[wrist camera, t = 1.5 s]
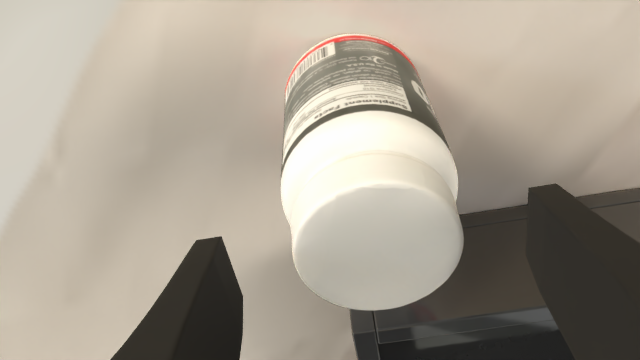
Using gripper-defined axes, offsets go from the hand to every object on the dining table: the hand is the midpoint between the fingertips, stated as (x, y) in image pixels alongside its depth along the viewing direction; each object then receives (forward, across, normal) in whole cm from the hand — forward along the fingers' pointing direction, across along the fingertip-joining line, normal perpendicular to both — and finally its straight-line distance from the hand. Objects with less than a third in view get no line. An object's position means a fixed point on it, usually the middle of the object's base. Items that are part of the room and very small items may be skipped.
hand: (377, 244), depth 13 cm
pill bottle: (+8, 0, 0) cm, 8 cm away
